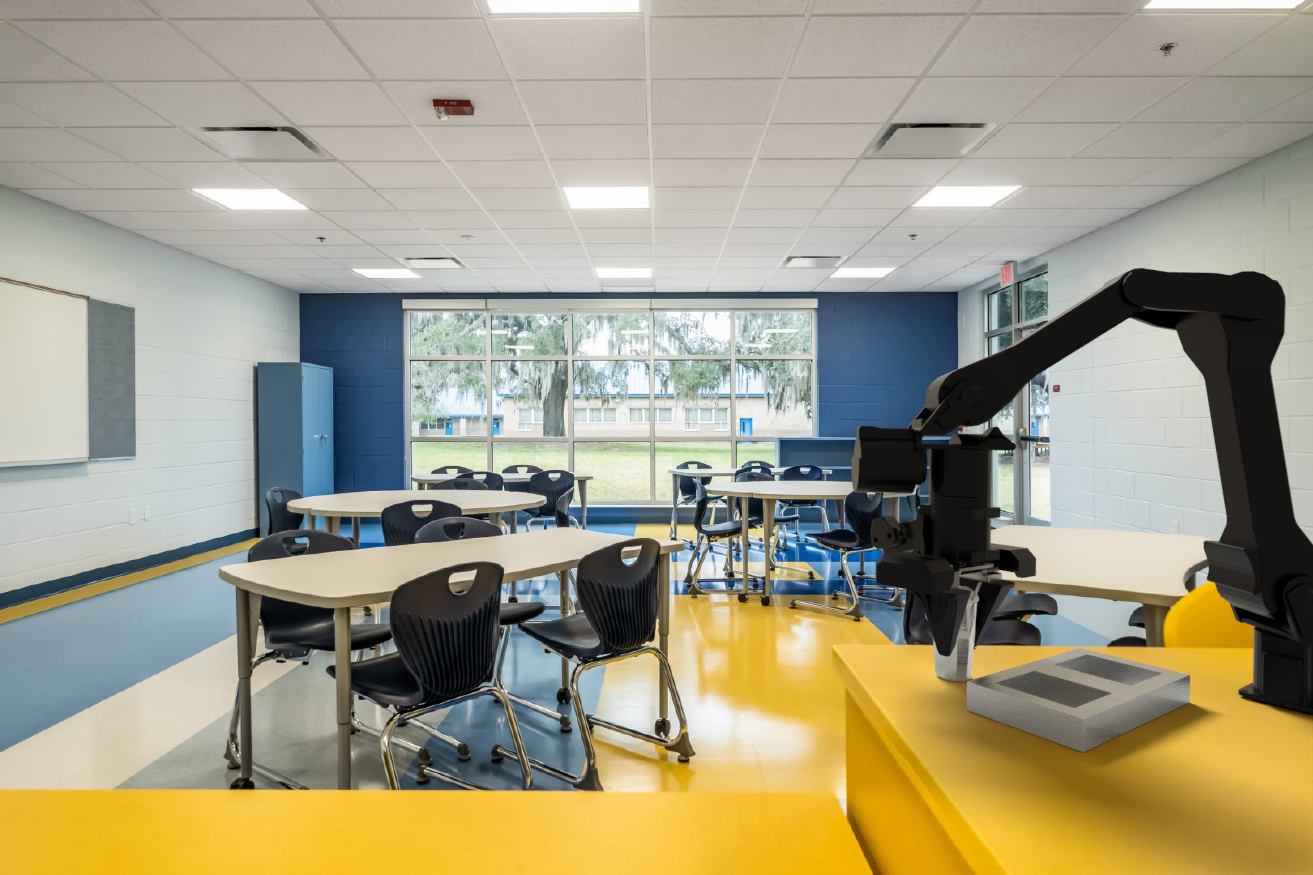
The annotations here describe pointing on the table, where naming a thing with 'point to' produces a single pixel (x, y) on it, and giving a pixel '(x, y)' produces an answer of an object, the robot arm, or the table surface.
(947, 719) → the table surface
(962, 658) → the milkshake
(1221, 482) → the robot arm
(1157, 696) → the block
